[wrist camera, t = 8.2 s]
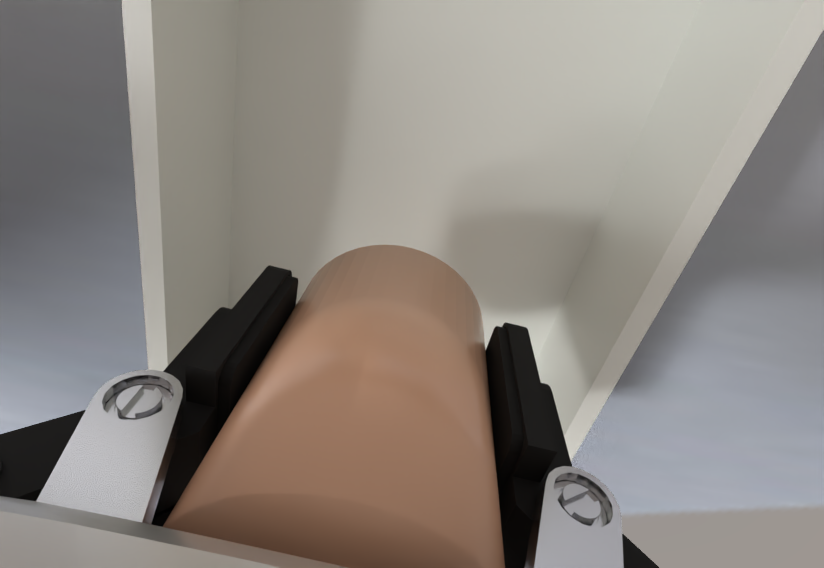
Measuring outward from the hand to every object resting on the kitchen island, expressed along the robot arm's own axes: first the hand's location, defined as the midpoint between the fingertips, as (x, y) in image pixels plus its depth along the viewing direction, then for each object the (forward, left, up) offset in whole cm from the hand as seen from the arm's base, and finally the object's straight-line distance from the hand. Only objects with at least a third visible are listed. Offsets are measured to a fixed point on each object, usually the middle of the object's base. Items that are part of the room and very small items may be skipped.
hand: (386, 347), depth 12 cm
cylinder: (0, 0, -1) cm, 1 cm away
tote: (0, +3, -6) cm, 7 cm away
